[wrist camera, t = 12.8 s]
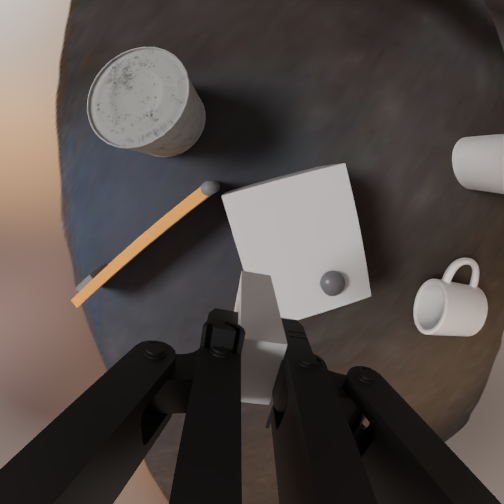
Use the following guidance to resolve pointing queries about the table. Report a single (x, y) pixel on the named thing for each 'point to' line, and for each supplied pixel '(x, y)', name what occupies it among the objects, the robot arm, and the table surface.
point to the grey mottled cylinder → (146, 103)
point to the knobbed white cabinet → (302, 239)
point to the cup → (480, 162)
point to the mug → (451, 304)
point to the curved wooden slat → (142, 242)
